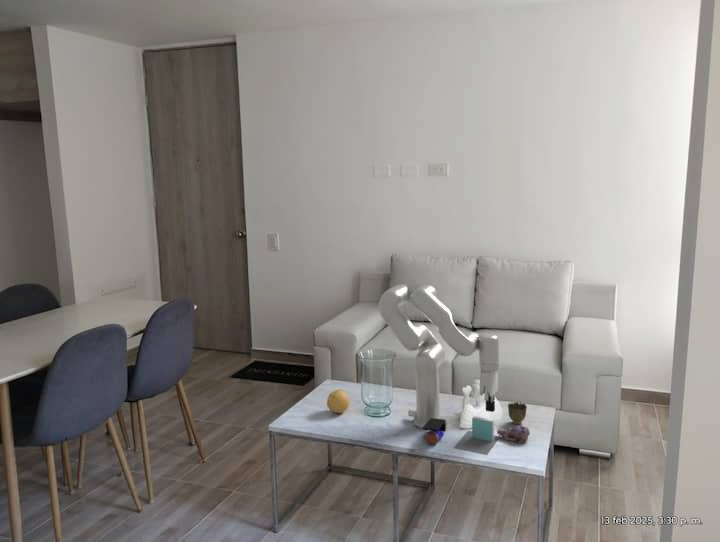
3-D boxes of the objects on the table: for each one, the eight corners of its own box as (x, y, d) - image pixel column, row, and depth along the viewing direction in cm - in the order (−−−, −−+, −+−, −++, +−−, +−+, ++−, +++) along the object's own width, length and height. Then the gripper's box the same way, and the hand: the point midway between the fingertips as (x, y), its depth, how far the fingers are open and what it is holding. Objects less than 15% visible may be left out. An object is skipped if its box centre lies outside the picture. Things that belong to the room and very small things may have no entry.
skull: (494, 438, 227) (496, 422, 226) (500, 433, 234) (502, 418, 233) (525, 446, 221) (528, 431, 221) (530, 441, 228) (532, 426, 227)
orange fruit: (351, 408, 263) (350, 386, 262) (348, 416, 254) (347, 394, 252) (329, 407, 265) (328, 386, 263) (325, 416, 255) (324, 394, 253)
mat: (453, 448, 221) (453, 447, 221) (468, 431, 236) (468, 430, 236) (487, 456, 215) (487, 454, 215) (500, 437, 229) (500, 436, 229)
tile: (472, 437, 229) (472, 418, 228) (473, 435, 231) (473, 416, 230) (492, 441, 225) (492, 421, 224) (493, 439, 227) (493, 419, 226)
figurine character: (431, 433, 239) (421, 445, 224) (431, 414, 238) (421, 425, 224) (447, 435, 236) (438, 447, 222) (448, 416, 236) (439, 427, 222)
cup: (507, 419, 246) (507, 401, 245) (525, 420, 244) (526, 402, 243) (508, 427, 239) (508, 408, 237) (527, 428, 237) (527, 409, 236)
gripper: (485, 359, 238) (486, 402, 241) (473, 370, 225) (475, 416, 228) (504, 361, 234) (505, 405, 237) (492, 372, 222) (494, 419, 224)
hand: (490, 410), depth 232 cm, fingers closed
